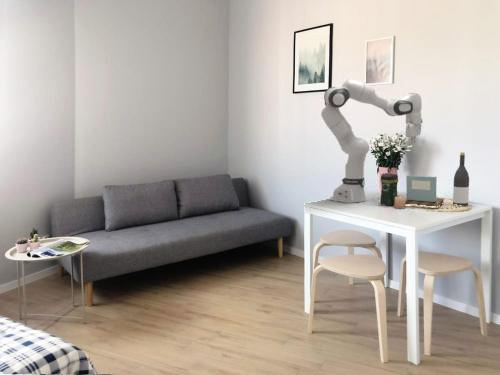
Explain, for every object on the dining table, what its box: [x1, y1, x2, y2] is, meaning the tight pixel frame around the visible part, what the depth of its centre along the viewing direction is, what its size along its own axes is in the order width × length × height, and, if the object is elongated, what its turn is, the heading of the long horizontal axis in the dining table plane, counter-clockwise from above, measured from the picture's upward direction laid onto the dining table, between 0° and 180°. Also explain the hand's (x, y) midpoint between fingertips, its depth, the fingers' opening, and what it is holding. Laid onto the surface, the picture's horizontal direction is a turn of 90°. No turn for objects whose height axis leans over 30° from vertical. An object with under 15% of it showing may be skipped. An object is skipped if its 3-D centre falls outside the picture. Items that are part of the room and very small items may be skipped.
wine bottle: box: [452, 151, 470, 207], centre depth 263 cm, size 8×8×30 cm
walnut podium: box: [406, 197, 445, 207], centre depth 268 cm, size 18×16×8 cm
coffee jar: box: [380, 172, 399, 207], centre depth 272 cm, size 10×8×19 cm
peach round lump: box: [393, 195, 407, 210], centre depth 263 cm, size 6×6×6 cm
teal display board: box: [405, 174, 437, 202], centre depth 261 cm, size 16×14×1 cm
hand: (412, 143), depth 281 cm, fingers closed
